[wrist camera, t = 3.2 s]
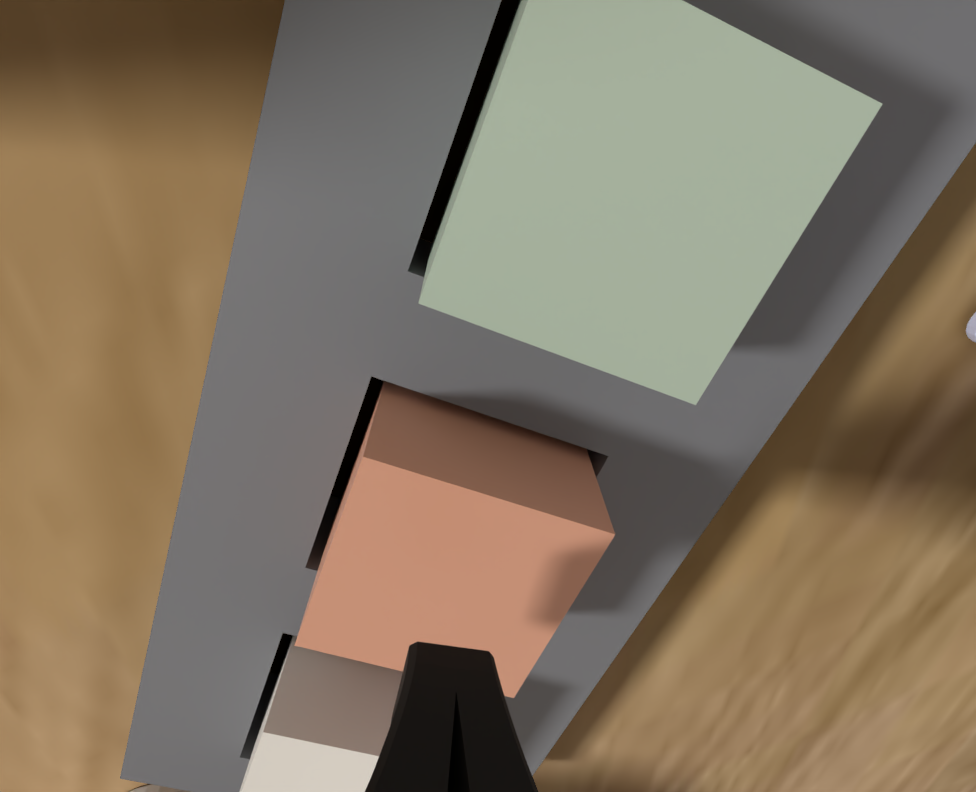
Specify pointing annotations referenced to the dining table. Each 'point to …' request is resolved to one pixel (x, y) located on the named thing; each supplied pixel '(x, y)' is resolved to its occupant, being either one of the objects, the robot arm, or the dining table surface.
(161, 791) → the coffee cup
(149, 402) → the dining table surface
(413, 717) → the robot arm
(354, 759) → the offwhite key
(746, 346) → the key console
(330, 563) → the terracotta key
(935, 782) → the dining table surface
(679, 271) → the sage key
